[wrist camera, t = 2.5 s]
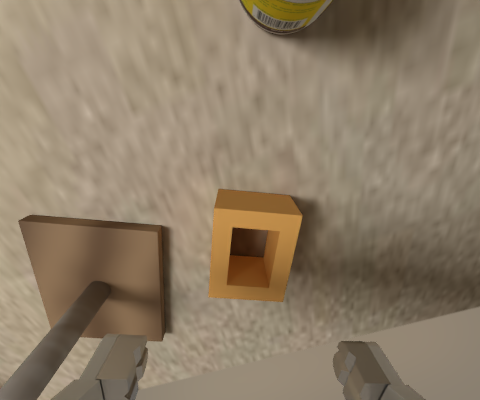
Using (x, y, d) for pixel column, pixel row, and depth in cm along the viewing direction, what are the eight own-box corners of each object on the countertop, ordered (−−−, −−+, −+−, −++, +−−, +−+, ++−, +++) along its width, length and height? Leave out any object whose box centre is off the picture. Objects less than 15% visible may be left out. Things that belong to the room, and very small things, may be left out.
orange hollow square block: (289, 195, 17) (302, 215, 13) (275, 269, 19) (282, 302, 16) (218, 189, 16) (214, 208, 13) (213, 265, 19) (208, 297, 16)
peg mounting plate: (161, 225, 17) (93, 329, 9) (165, 331, 22) (121, 467, 14) (30, 214, 17) (-170, 314, 9) (61, 325, 21) (-52, 462, 13)
